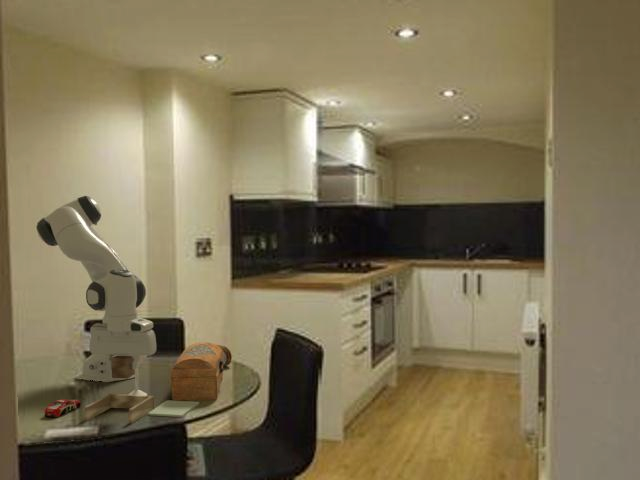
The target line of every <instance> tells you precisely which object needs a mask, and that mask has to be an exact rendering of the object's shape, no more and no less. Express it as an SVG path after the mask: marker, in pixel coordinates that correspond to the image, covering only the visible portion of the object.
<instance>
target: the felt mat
mask: <svg viewBox="0 0 640 480" xmlns="http://www.w3.org/2000/svg"><path fill="white" fill-rule="evenodd" d="M198 405H200V401H192V400H189V401H188V400H169V399H168V400H165V401H163V403H161V404H159V405H158V406H156V407H154V409H153V410H152V411H150V412H149V413H147V416H157V417H171V418H173V417H174V418H183V417H184V416H186V415H187V414H188V413H189V412H191V411H192V410H193V409H194V408H196V407H198Z"/></svg>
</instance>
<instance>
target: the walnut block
mask: <svg viewBox="0 0 640 480" xmlns="http://www.w3.org/2000/svg"><path fill="white" fill-rule="evenodd" d="M133 361H134V359H133V355H117V356H115V357H113V358H111V370H112V378H129V377H131V376H133V375H135V370H130V364H131V363H133Z"/></svg>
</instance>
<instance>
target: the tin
mask: <svg viewBox="0 0 640 480" xmlns="http://www.w3.org/2000/svg"><path fill="white" fill-rule="evenodd" d="M216 345H217V346H219V347H220V348H221V349H222V350H223V368H224V367H227V366H229V365H230V364H231V362H232V359H233V358H232V357H233V356H232V353H231V351H230V349H229V347H226V346H225V345H218V344H216Z"/></svg>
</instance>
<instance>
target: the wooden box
mask: <svg viewBox="0 0 640 480" xmlns="http://www.w3.org/2000/svg"><path fill="white" fill-rule="evenodd" d="M217 345H218V344H216V343H212V342H196V343H193V344H191V345H188V347H186V348H185V349H184V350H183V351H182V353H181V354H180V356H179V357H178V359H177V360H176V362H175V364H174V365H173V366H172V367H171V369H170V381H171V382H170V384H171V386H170V387H171V399H172V400H171V401H188V400H189V401H192V400H194V401H195V400H218V397H219V392H220V389H221V388H220V387H221V384H222V381H223V376H224V370H225V369H224V367H223V350H222V349H221V348H220V347H219V346H217Z"/></svg>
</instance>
